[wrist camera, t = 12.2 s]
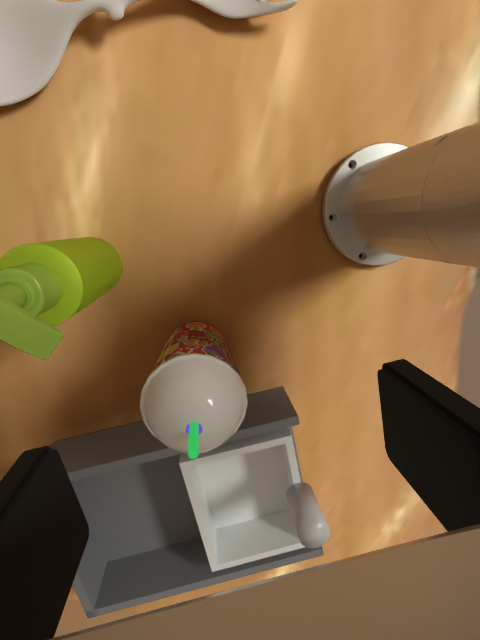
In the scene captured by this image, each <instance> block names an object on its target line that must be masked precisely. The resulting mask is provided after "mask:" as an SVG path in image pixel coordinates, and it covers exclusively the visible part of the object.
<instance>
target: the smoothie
mask: <svg viewBox="0 0 480 640" xmlns="http://www.w3.org/2000/svg"><path fill="white" fill-rule="evenodd" d="M247 405H248V400H247V393H246V387H245V385H244V383H243V382H242V380H241V377H240V375H239V373H238V370H237V368H236V366H235V363H234V361H233V359H232V356H231V354H230V352H229V349H228V347H227V345H226V342H225V340H224V338H223V337H222V335H221V333H220V332H219V331H218V330H217V329H216V328H214V327H213V326H211V325H209V324H206V323H203V322H190V323H185V324H183V325H181V326H179V327H177V328H176V329H175V330H174V331H173V332H172V333H171V334H170V336H169V338H168V340H167V342H166V344H165V346H164V348H163V350H162V352H161V354H160V356H159V358H158V360H157V362H156V364H155V366H154V368H153V370H152V372H151V374H150V375H149V377H148V379H147V381H146V383H145V385H144V386H143V388H142V390H141V398H140V410H141V415H142V419H143V422H144V423H145V425H146V426H147V428H148V430H149V431H150V433H151V434H152V435H153V436H155V437H156V438H157V439H158V440H159V441H160V442H162V443H163V444H164V445H165V446H167V447H168V448H170V449H173V450H175V451H178V452H180V453H187V454H188V456H189V458H191V459H195V458H197V457H198V454H199V453H204V452H208V451H210V450H212V449H214V448H216V447H218V446H220V445H222V444H223V443H224V442H225V441H226V440H227V439H228V438H230V437H231V436H232V435H233V434H234V433H235V432H236V431H237V430H238V428H239V427H240V425H241V423H242V421H243V420H244V418H245V414H246V409H247Z"/></svg>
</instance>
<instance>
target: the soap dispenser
mask: <svg viewBox="0 0 480 640" xmlns="http://www.w3.org/2000/svg"><path fill="white" fill-rule="evenodd" d="M121 270H122V265H121V260H120V257H119V255H118V253H117V252H116V250H115V249H114V248H113V247H112V246H111V245H110V244H109V243H107V242H106V241H104V240H102V239H99V238H94V237H85V238H76V239H67V240H58V241H49V242H40V243H30V244H24V245H20V246H17V247H15V248H13V249H11V250H10V251H8V252H7V253H6V254H5V255H4V256H3V257H2V258H1V260H0V340H2V341H4V342H6V343H8V344H9V345H11V346H13V347H15V348H17V349H19V350H22V351H24V352H26V353H28V354H30V355H33V356H35V357H37V358H40V359H42V360H47V359H48V357H49V356H50V355H51V353H52V352H53V350H54V349H55V347H56V346H57V345H58V343H59V342H60V340H61V339H62V337H63V334H62V332H61V331H60V329H58V328H56V327H54V326H53V325H57V324H60V323H62V322H64V321H66V320H68V319H69V318H70V317H72V316H73V315H75V314H76V313H77V312H79V311H80V310H82V309H83V308H84V307H86V306H87V305H89V304H90V303H91V302H93V301H94V300H96V299H97V298H98V297H100V296H101V295H103V294H104V293H105V292H107V291H108V290H110V289H111V288H112V287H113V286H114V285H115V284H116V283H117V282H118V280H119V278H120V275H121Z"/></svg>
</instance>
